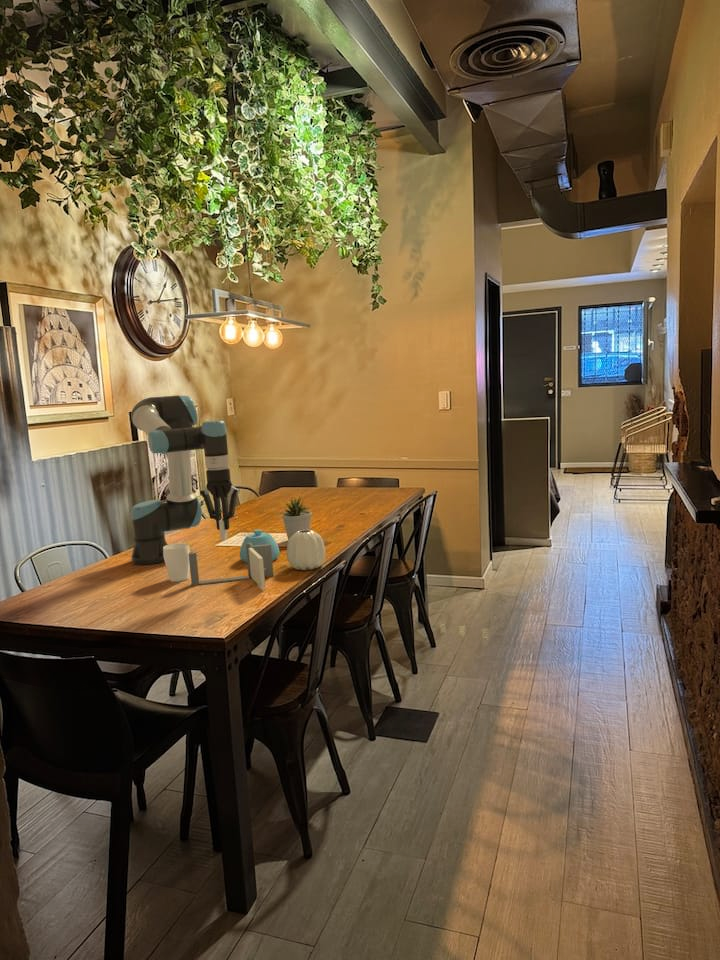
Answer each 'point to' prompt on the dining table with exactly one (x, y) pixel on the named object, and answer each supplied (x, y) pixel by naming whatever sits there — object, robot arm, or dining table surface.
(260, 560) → the curved cream plank
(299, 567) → the vase
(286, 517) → the potted plant
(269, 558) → the grey u-shaped bar
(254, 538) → the sugar bowl
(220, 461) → the robot arm
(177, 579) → the cup
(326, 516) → the dining table surface
